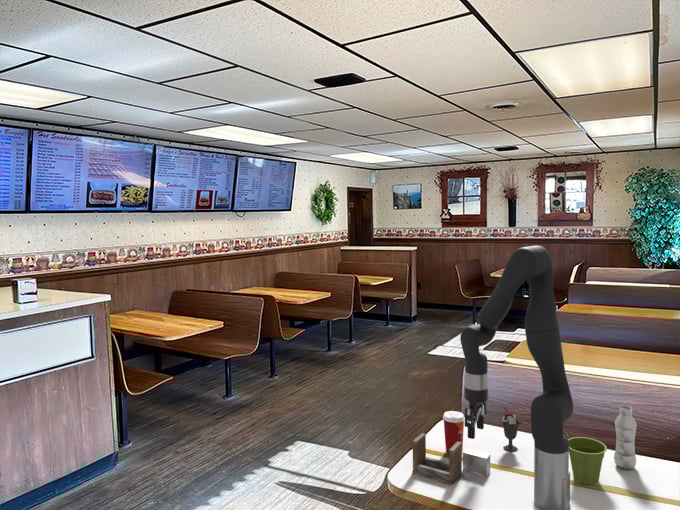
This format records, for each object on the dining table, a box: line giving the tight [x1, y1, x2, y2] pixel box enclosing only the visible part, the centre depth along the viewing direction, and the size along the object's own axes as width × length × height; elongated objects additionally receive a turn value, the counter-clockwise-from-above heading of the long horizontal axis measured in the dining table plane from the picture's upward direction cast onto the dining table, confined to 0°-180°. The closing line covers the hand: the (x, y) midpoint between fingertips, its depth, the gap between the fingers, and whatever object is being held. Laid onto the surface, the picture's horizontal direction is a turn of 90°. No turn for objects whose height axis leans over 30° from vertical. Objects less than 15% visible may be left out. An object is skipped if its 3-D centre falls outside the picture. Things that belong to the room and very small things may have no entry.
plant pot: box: [567, 436, 608, 486], centre depth 164 cm, size 12×12×11 cm
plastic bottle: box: [613, 405, 638, 470], centre depth 170 cm, size 6×7×20 cm
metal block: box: [462, 447, 491, 477], centre depth 171 cm, size 8×4×6 cm, turn 56°
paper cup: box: [442, 410, 465, 456], centre depth 184 cm, size 8×8×14 cm
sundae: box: [500, 407, 521, 453], centre depth 185 cm, size 7×7×15 cm
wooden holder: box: [411, 432, 463, 486], centre depth 169 cm, size 14×8×11 cm, turn 56°
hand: (475, 433), depth 171 cm, fingers open, 8 cm apart
